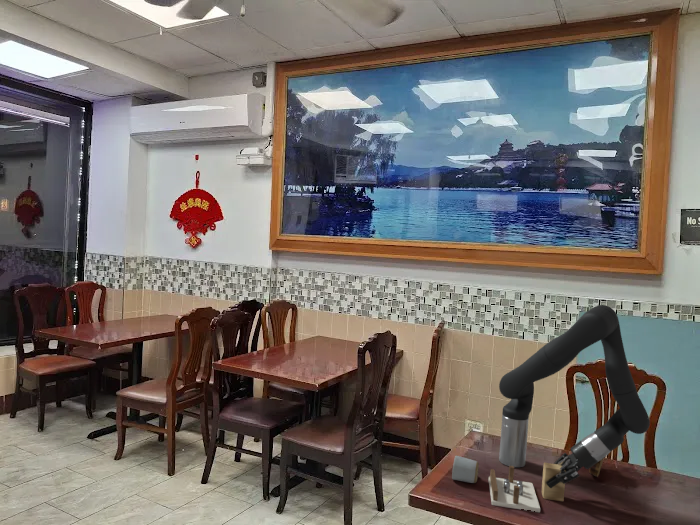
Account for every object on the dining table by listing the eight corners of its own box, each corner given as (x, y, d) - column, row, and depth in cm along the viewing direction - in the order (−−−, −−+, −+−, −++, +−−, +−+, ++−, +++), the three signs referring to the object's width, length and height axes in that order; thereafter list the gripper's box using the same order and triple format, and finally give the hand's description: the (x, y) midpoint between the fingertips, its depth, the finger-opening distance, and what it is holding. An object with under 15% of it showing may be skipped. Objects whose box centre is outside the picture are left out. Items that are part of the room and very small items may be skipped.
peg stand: (531, 486, 171) (532, 483, 171) (540, 512, 154) (540, 508, 154) (488, 480, 173) (488, 476, 173) (491, 504, 157) (492, 501, 157)
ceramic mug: (476, 488, 167) (478, 464, 167) (451, 483, 170) (452, 460, 170) (478, 474, 177) (480, 453, 177) (454, 470, 180) (456, 448, 180)
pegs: (521, 490, 165) (522, 480, 165) (522, 496, 161) (523, 486, 161) (503, 487, 166) (504, 478, 166) (504, 493, 162) (505, 483, 162)
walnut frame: (512, 480, 171) (513, 466, 171) (518, 504, 156) (519, 488, 156) (490, 477, 173) (491, 463, 173) (493, 500, 157) (494, 484, 157)
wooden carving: (589, 464, 192) (592, 438, 191) (603, 467, 189) (605, 441, 189) (586, 481, 177) (589, 452, 177) (601, 485, 175) (603, 456, 174)
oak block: (561, 495, 166) (563, 465, 165) (563, 501, 162) (565, 470, 161) (541, 492, 167) (543, 462, 166) (543, 498, 163) (545, 467, 162)
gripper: (576, 432, 169) (535, 463, 172) (587, 449, 155) (542, 482, 158) (592, 451, 168) (550, 481, 171) (605, 469, 154) (559, 502, 157)
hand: (547, 482), depth 164 cm, fingers closed on oak block, 4 cm apart
